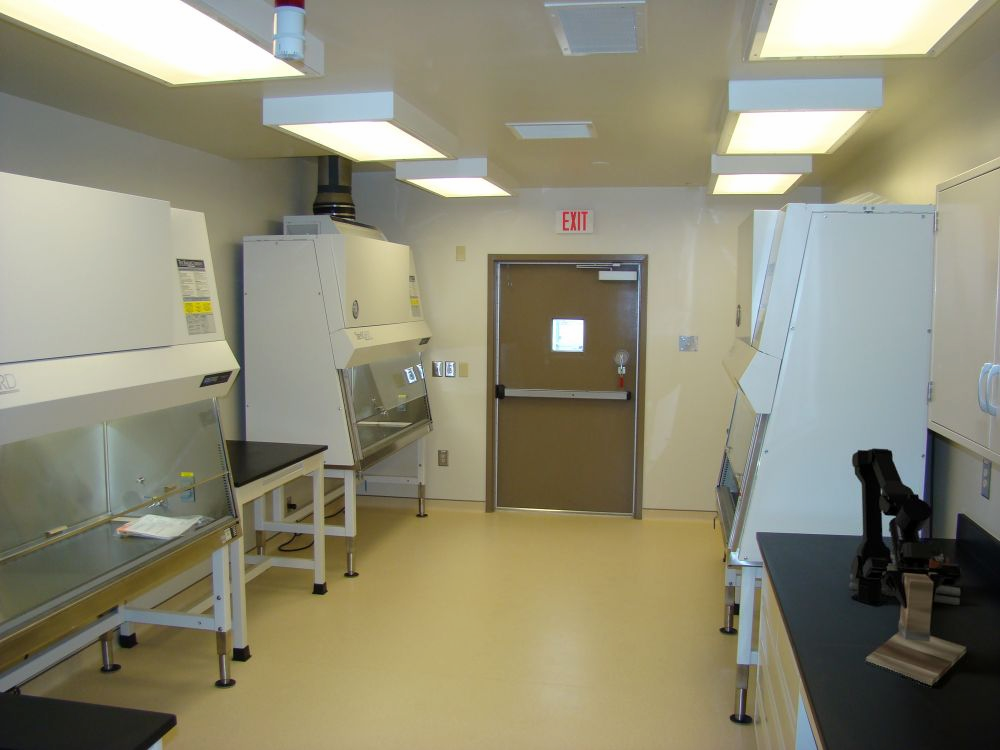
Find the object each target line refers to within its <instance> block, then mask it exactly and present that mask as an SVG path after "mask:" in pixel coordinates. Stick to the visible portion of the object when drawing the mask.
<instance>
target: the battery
mask: <svg viewBox="0 0 1000 750" xmlns="http://www.w3.org/2000/svg"><path fill="white" fill-rule="evenodd" d="M949 559H950V558H949V557H948V556H944V554H943V553H941V555H940V556H932V559H929V563H928V564H929V567H928V568H937V567H938V565H939V564H940V563H948V564H950V562H949V561H950V560H949ZM941 586H946V585H941ZM935 594H938V595H945V596H947V594H941V593H935Z"/></svg>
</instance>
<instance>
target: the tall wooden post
mask: <svg viewBox="0 0 1000 750" xmlns="http://www.w3.org/2000/svg"><path fill="white" fill-rule="evenodd" d="M933 584H934V583H933V582H932V580H931V579H930V578H929V577H928V576H927V575H923V574H911V573H904V576H903V588H904V592H905V596H906V600H907V608H906V609H905V608H904V607H903V606H902V605H901V604H900V613H899V616H900V617H899V620H898V627H897V629H898V632H899V631H900V633H901V634H902V636H903V637H904V638H905V639H907V640H917V641H927V642H930V636H931V630H930V628H931V620H932V619H931V616H932V610H931V607H932V596H933Z"/></svg>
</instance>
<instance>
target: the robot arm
mask: <svg viewBox="0 0 1000 750" xmlns="http://www.w3.org/2000/svg"><path fill="white" fill-rule="evenodd" d="M893 459H894V458H893V452H892V450H890V449H888V448H875V447H874V448H873V447H872V448H871V449H868V450H867V449H866V450H865V449H863V450H862V449H858V450H857V451H856V452H854V453H853V454H852V457H851V464H852V467H853V468H854V475H855V476H856V478H857V480H858V481H859V482H860V484H861V506H862V507H861V508H862V509H861V510H862V511H861V512H862V513H861V514H862V541H861V542H860V543H859V545H858V547H857V548H856V555H855V556H854V558H853V560H852V561H851V564H850V574H852V575H853V576H854V578H855V579H858V582H857V581H856V582H857V590H856V593H855V594H853V595H852V596H851V598H850V599H851V600H853V601H857V602H861V603H864V604H868V605H871V606H874V607H878V606H880V605H881V604H882V603H884V602H885V601H887V599H886V597H884V596H882V594H881V590H882V586H883V585H882V583H885V584H886V585H887V586H888V587H889V588H890V589H891V591H892V592H893V593H894V594H895V597H896V599H897V600H898V601H899V603H900V606H901V605H902V606H903V607H904V608H905V609H906V608H907V600H906V596H905V592H904V588H903V584H902V575H904V573H911V574H923V575H927V576H928V577H929V578H930V579H931V580H932V582H933V583H934V584H933V596H932V607H931V611H932V610H933V608H934V603H935V602H934V597H935V592H936V589H937V588H938V587H940V585H946V586H948V587H953V586H956V585H957V584H958V583H959V581H960V580H961V579H962V578H963V576H964V574H963V568H962V567H961V566H960V565H959V564H957V563H949V564H948V563H940V564H939V565H938V567H937V568H929V567H926V565H928V564H930V559H932V556H940V555H941V554H942V549H941V544H940V541H939V540H928V541H927V543H926V542H923V541H921V540H920V539H921V537H920V531H922V530H923V528H924V527H925V525H926V524H927V522H928V521H929V519H930V518H931V516H932V508H931V506H930V505H929V504H928V503H927V502H926V501H925V500H923V499H921V498H920V496H919V494H917V493H914V491H913V490H912V488H910V487H909V486H907V485H906V484H904V483H903V482H902V479H901V476H900V474H899V472H898V468H897V466H896V465H895V462H894V460H893ZM883 515H884V516H888V517H889V516H890V517H893V518H892V519H891V520H890V521H889V523H888V532H889V534H890V539H891V544H892V550H891V549H890V548H889V546H887V545H886V543H885V542H884V539H883ZM891 551H892V554H893V555H894V558H895V564H893V561H892V559H891V557H890V552H891Z"/></svg>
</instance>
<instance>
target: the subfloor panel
mask: <svg viewBox="0 0 1000 750" xmlns="http://www.w3.org/2000/svg"><path fill="white" fill-rule="evenodd" d="M965 653H966V654H967V646H964V645H961V644H958V643H954V642H951V641H948V640H945V639H941V638H938V637H936V636H932V635H930V642H927V641H917V640H907V639H905V638H904V637H903V636H902V634H901V633H900V631H899V630H898V631H897V633H895V634H893V636H891V638H889V639H888V640H887V641H885V642H884V643H882V644H881V645H880V646H879V647H878V648H876V649H875V650H874V651H872V652H871V653H870V654H869V655H868V656H866V657H865V662H866V661H868V662H871V663H874V664H876V665H879V666H882V667H885V668H888V669H890V670H893V671H895V672H898V673H901V674H903V675H905V676H908V677H911V678H913V679H915V680H918V681H920V682H923V683H926V684H928V685H931V686H932V685H933V684H934V683H935V682H937V681H938V680H939V679H940V678H941V677H942V676H943V675H944V674H945V673H946V672H947V671H948V670H949V669H950V668H951V667H952V666H953V665H954V664H955V663H956V662H957V661H958V660H959V659H960V658H961V657H962V656H963V655H964V654H965ZM966 654H965V655H966ZM965 655H964V656H965ZM964 656H963V657H964ZM963 657H962V658H963ZM962 658H961V659H962ZM961 659H960V660H961ZM960 660H959V661H960ZM959 661H958V662H959ZM958 662H957V663H958ZM957 663H956V664H957ZM956 664H955V665H956ZM955 665H954V666H955ZM954 666H953V667H954ZM953 667H952V668H953ZM952 668H951V669H952ZM951 669H950V670H951ZM950 670H949V671H950ZM949 671H948V672H949ZM948 672H947V673H948ZM947 673H946V674H947ZM946 674H945V675H946ZM945 675H944V676H945ZM944 676H943V677H944ZM943 677H942V678H943ZM942 678H941V679H942ZM941 679H940V680H941ZM940 680H939V681H940ZM939 681H938V682H939ZM938 682H937V683H938Z"/></svg>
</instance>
